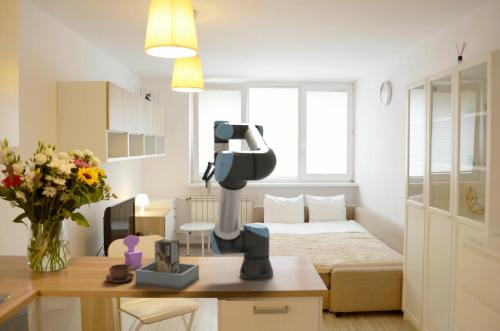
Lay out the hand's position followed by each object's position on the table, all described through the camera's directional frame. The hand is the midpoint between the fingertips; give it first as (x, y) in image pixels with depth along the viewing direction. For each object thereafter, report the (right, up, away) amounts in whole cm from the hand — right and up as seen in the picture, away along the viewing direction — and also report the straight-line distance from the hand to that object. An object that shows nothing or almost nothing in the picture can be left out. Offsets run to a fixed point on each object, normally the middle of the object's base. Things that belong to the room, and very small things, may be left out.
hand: (221, 195), depth 206 cm
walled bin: (-22, -36, -25) cm, 49 cm away
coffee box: (-22, -34, -25) cm, 48 cm away
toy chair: (-43, -35, -2) cm, 56 cm away
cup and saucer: (-43, -36, -24) cm, 61 cm away
